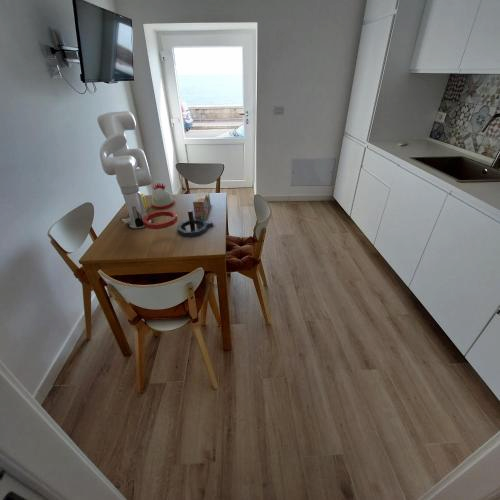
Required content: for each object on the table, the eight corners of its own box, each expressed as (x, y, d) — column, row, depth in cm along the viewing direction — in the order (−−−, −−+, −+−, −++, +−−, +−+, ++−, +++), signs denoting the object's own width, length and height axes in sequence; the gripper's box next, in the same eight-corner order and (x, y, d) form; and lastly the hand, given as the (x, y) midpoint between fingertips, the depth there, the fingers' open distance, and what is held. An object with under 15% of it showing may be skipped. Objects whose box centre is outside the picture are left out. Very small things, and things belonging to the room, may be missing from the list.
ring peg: (187, 234, 150) (183, 215, 143) (184, 227, 156) (181, 209, 150) (201, 231, 152) (198, 212, 146) (198, 225, 158) (196, 206, 152)
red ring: (136, 233, 125) (135, 228, 123) (136, 219, 137) (135, 214, 136) (179, 225, 130) (178, 220, 129) (175, 212, 143) (174, 208, 141)
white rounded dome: (170, 208, 177) (165, 186, 169) (149, 208, 178) (143, 187, 170) (175, 200, 189) (171, 179, 181) (156, 200, 190) (151, 179, 181)
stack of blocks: (201, 205, 181) (199, 187, 174) (210, 205, 181) (208, 187, 174) (195, 220, 163) (192, 201, 156) (205, 220, 163) (203, 201, 156)
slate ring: (209, 219, 163) (209, 216, 162) (215, 232, 151) (215, 228, 150) (177, 225, 158) (176, 222, 157) (180, 238, 146) (180, 235, 144)
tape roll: (148, 206, 182) (145, 192, 177) (146, 212, 174) (142, 198, 168) (133, 207, 181) (129, 194, 175) (130, 214, 172) (126, 200, 167)
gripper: (121, 184, 127) (131, 220, 137) (120, 196, 114) (131, 234, 124) (138, 182, 129) (147, 217, 139) (138, 193, 116) (148, 231, 126)
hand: (139, 225), depth 131 cm, fingers closed on red ring, 2 cm apart
